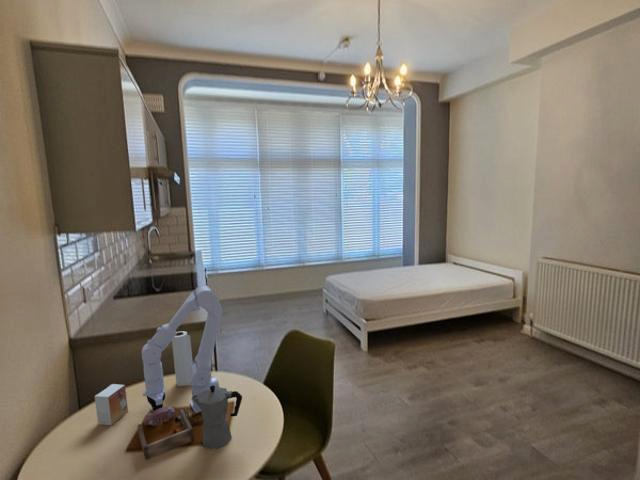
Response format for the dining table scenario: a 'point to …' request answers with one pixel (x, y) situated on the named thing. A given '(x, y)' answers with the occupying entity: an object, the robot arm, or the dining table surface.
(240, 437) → the dining table surface
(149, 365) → the robot arm
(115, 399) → the small box
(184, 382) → the paper towel roll
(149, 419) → the video game controller
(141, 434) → the box
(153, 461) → the dining table surface
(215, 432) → the coffeepot
